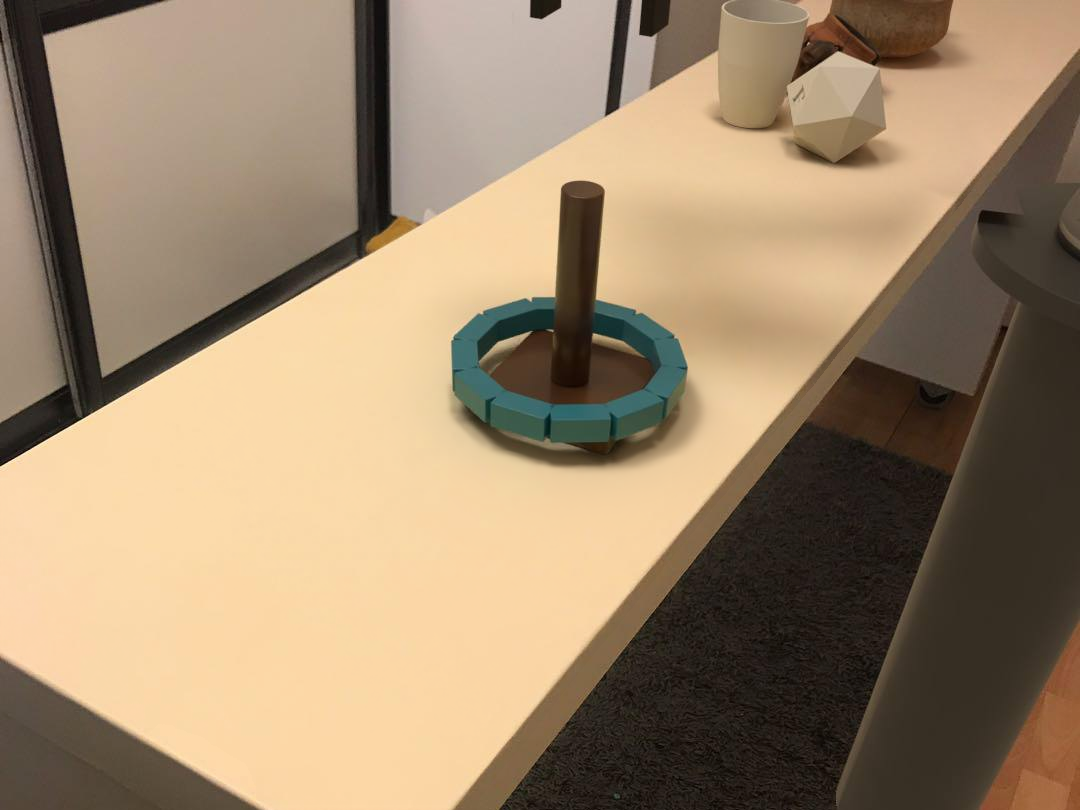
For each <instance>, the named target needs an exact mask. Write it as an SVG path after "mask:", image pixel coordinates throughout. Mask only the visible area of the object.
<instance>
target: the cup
mask: <svg viewBox="0 0 1080 810" xmlns="http://www.w3.org/2000/svg"><path fill="white" fill-rule="evenodd" d="M720 11H721V12H720V13H721V14H720V23H719V35H718V46H717V47H718V48H717V83H718V84H717V85H718V87H717V88H718V89H717V91H718V98H719V103H720V105H719V106H720V111H721V118H722V120H723V121H724V122H726V123H728V124H730V125H732V126H735V127H738V128H745V129H762V128H767V127H769V126H771V125H772V124H773V123H774V122H775V119H776V118H777V116H778V114H779V111H780V109H781V107H782V106H783V103H784V101H785V100H786V97H787V96H788V94H787V92H788V91H787V86H788V85H789V84H790V83H791V80H792V77H793V75H794V72H795V69H796V66H797V63H798V60H799V56H800V52H801V48H802V44H803V39H804V35H805V31H806V27H808V23H809V19H810V13H809V11H808V10H807V9H806V8H804V7H802V6H800V5H797V4H795V3H792V2H787V1H783V0H728V1H726V2H724V3H723V4H722V5H721V10H720Z"/></svg>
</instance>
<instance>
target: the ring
mask: <svg viewBox="0 0 1080 810" xmlns="http://www.w3.org/2000/svg"><path fill="white" fill-rule="evenodd" d="M554 305H555V296H533V297H531V300H530V299H528V298H527V297H525V298H521V299H518V300H514V301H511V302H508V303H505V304H501V305H498V306H495V307H491V308H488V309H484V310H483V311H482V313H480V312H479V313H477V314H475V316H474V317H472V318H471V320H469V321H468V322H467V323H466V324H465V325H464V326H463V327H461V329H459V330H458V331H457V332H456V333H455V334H454V335H453V337H452V340H451V341H450V343H451V344H450V345H451V346H450V354H451V356H450V359H451V384H452V385H451V386H452V392H454V396H455V397H456V398H457V399H458V400H459V401H460V402H462V403H463V404H464V406H466V407H467V409H469V410H470V411H471V412H472V411H473V412H474V413H475V414H474V413H473V414H474V415H476V416H477V417H478V418H479V419H480V420H481V421H483V423H489V422H490V423H489V425H490V426H491V427H493V428H496V429H500V430H503V431H506V432H509V433H511V434H515V435H519V436H522V437H526V438H529V439H531V440H536V441H538V442H541V443H543V442H545V441H546V439H548V438H549V442H550V443H551V444H554V443H555V444H556V443H557V444H560V443H561V444H563V443H565V444H566V443H567V444H570V443H569V442H609V438H610V437H612V438H613V439H614V440H615V441H616V442H617V441H619V440H621V439H624V438H627V437H629V436H631V435H634V434H637V433H639V432H642V431H644V430H647V429H650V428H652V427H655V426H658V425H660V424H661V423H662V420H663V421H666V420H667V419H668V417H669V416H670V414H671V412H672V411H673V410H674V409H675V407H676V405H677V403H678V402H679V401H680V400H681V398H682V396H683V395H684V394H685V389H686V383H687V377H688V369H689V365H688V364H687V363H688V362H687V360H686V357H685V355H684V352H683V349H682V346H681V343H680V341H679V340H680V339H679V338H678V337H675V336H676V335H675V334H674V333H672V332H671V331H670V330H669V329H667V328H665V327H663V326H662V325H661V324H659V323H658V322H656V321H655V320H654V319H652V318H650V316H648V315H646V314H644V313H643V312H638V313H637V310H636V309H634V308H631V307H626V306H622V305H619V304H615V303H610V302H607V301H603V300H600V299H596V304H595V316H594V328H593V334H595V335H599V336H603V337H606V338H609V339H612V340H616V341H617V340H618V341H621V342H623V343H625V344H626V345H627V346H629V347H630V348H631V349H632V350H634V351H636V352H637V353H638V354H639V355H640V356H642V357H645V358H647V359H648V360H650V361H651V364H652V367H653V370H654V373H655V375H654V376H653V378H652V379H651V381H650V382H649V383H648V385H647V386H646V387H645V389H643V390H640V391H637V392H635V393H632V394H629V395H627V396H624V397H621V398H618V399H616V400H613V401H610V402H608V403H605V404H565V405H553V404H550V403H546V402H543V401H540V400H536V399H533V398H530V397H526V396H523V395H519V394H516V393H513V392H509V391H506V390H505V389H504V388H503V387H502V386H500V385H499V384H498V383H497V382H496V381H495V380H493V379H492V378H491V377H490V376H489V375H490V374H488V373H486V372H485V371H484V370H483V369H482V368H481V367H480V361H482V359H483V358H484V357H485V356H486V355H487V354H488V353H489V352H490V351H491V350H492V349H493V348H494V347H495V346H496V345H497V344H498V343H499V342H503V341H505V340H508V339H512V338H514V337H518V336H521V335H524V334H527V333H531V332H532V331H534V330H548V331H553V323H554ZM548 436H549V437H548Z"/></svg>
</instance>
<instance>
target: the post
mask: <svg viewBox="0 0 1080 810" xmlns="http://www.w3.org/2000/svg"><path fill="white" fill-rule="evenodd" d="M605 195H606V190H605V188H604V186H603V185H601V184H600V183H597V182H594V181H589V180H572V181H571V180H570V181H567V182H565V183H563V184H562V186H561V188H560V196H559V197H560V200H559V215H558V233H557V235H558V236H557V252H556V268H555V270H556V271H555V286H554V287H555V288H554V289H555V290H554V297H555V305H554V323H553V330H534V331H531V332H529V334H528V335H527V336H526V337H524V339H523V340H522V341H521V342H520V343H519V344H517V346H516V347H514V349H513V350H512V351H511V352H510V353H508V355H507V356H506V357H505V358H504V359H503V360H502V361H501V362H500V363H499V364H498V365H497V366H496V367H495V368H494V369H493V370H492V371H491V372H490V373H489V374H488V375H489V376H490V377H491V378H492V379H493V380H495V381H496V382H497V383H498V384H499V385H500V386H502V387H503V388H504V389H505V390H506V391H509V392H513V393H516V394H519V395H523V396H526V397H530V398H533V399H536V400H540V401H543V402H546V403H550V404H553V405H565V404H605V403H608V402H610V401H613V400H616V399H618V398H621V397H624V396H627V395H629V394H632V393H635V392H637V391H640V390H643V389H645V387H646V386H647V385H648V383H649V382H650V381H651V379H652V378H653V376H654V375H655V373H654V370H653V367H652V364H651V361H650V360H648V359H647V358H645V357H644V356H642V355H638V354H634V353H630V352H626V351H624V350H619V349H616V348H613V347H608V346H605V345H603V344H598V343H595V342H593V338H594V333H593V328H594V316H595V304H596V300H597V293H598V281H599V279H598V278H599V267H600V255H601V242H602V231H603V221H604V220H603V218H604V207H605ZM471 413H472V414H474V415H476V414H475V413H474V412H473V411H472V410H471ZM547 438H549V436H548V437H547ZM616 443H617V441H615V440H614V439H613V438H612V437H610V438H609V442H569V443H568V444H570V445H574V446H577V447H580V448H583V449H586V450H589V451H592V452H596V453H598V454H602V455H606V456H607V455H608V454H609V452H610V451H611V450H612V448H613V447H614V445H616Z"/></svg>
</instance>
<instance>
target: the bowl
mask: <svg viewBox="0 0 1080 810" xmlns="http://www.w3.org/2000/svg"><path fill="white" fill-rule="evenodd" d="M953 4H954V0H831V4H830V8H829V11H828V13H833V14H835V15H837V16H839V17H841V18H842V19H844V20H845V21H846V22H847V23H849V24H850V25H851V26H853V27H854V28H855V29H856V30H857V31H858V32H859V33H861V34H862V35H863V36H864V37H865V38H866V39H867V40H868V41H869V42H870V43H871V44H872V45H873V46H874V47H875V48H876V49H877V50H878V52H879V53H880V55H881V57H883V58H905V57H911V56H915V55H918V54H921V53H923V52H926V51H928V50H930V49H932V48H933V47H935V46H937V45H938V44H939V43H940V42H941V41H942V40H943V39H944V38H945V37H946V35H947V33H948V30H949V27H950V20H951V13H952V8H953Z"/></svg>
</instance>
